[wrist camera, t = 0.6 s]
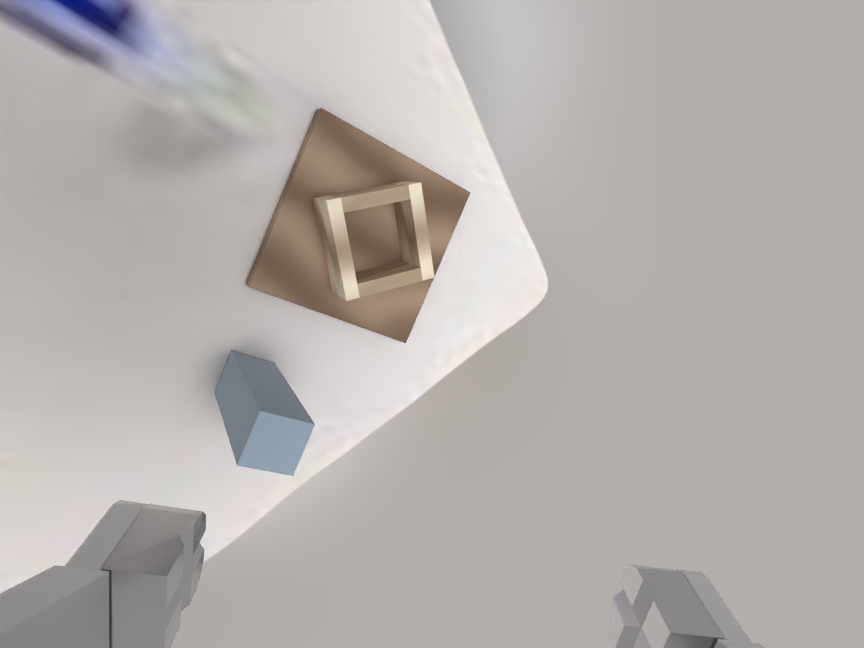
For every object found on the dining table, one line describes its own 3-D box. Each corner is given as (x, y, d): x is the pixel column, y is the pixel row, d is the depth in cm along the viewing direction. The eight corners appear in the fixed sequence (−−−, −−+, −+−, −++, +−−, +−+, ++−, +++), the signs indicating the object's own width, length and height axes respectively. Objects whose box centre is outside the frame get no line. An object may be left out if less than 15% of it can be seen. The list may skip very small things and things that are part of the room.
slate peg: (231, 350, 48) (259, 410, 36) (274, 362, 51) (314, 424, 38) (214, 391, 49) (237, 465, 37) (257, 402, 51) (292, 475, 39)
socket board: (316, 109, 47) (336, 103, 42) (462, 191, 55) (492, 194, 50) (246, 283, 48) (257, 296, 43) (399, 339, 56) (423, 355, 51)
